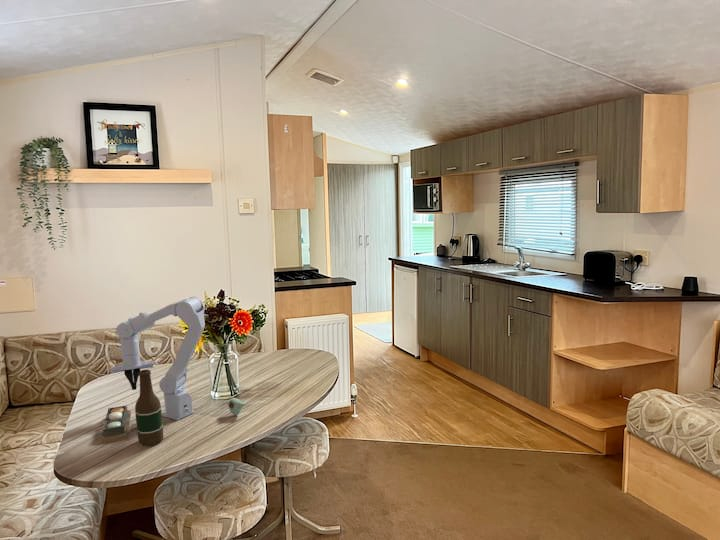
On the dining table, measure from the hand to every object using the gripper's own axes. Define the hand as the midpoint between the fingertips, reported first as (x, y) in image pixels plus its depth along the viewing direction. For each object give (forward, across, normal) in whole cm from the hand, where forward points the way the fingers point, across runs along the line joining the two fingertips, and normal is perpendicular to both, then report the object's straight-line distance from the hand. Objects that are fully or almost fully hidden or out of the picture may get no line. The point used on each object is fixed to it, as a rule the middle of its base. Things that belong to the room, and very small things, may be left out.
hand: (134, 388), depth 200 cm
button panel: (+9, +6, +11) cm, 16 cm away
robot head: (+10, -34, +18) cm, 39 cm away
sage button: (+7, +6, +17) cm, 20 cm away
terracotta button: (+7, +6, +4) cm, 10 cm away
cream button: (+6, +6, +11) cm, 14 cm away
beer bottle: (+10, -5, +27) cm, 29 cm away
